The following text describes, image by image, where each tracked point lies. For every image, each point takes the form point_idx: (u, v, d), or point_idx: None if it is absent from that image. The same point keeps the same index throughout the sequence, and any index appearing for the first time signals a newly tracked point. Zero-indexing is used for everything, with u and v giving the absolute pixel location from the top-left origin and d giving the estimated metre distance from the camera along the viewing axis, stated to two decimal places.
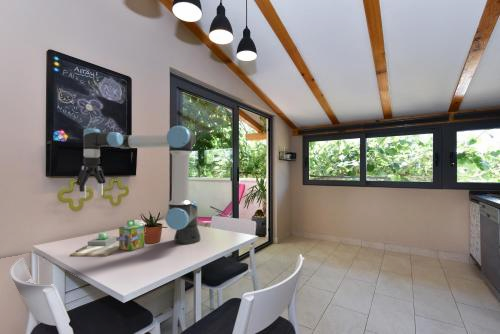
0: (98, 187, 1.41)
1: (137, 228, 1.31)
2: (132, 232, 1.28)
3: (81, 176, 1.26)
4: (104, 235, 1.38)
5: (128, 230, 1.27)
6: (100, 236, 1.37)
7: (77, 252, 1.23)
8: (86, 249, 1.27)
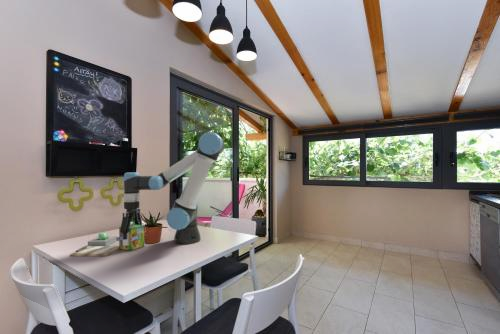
0: None
1: (137, 228, 1.31)
2: (132, 231, 1.28)
3: (124, 224, 1.25)
4: (104, 235, 1.38)
5: (128, 230, 1.27)
6: (100, 236, 1.37)
7: (77, 252, 1.23)
8: (86, 249, 1.27)
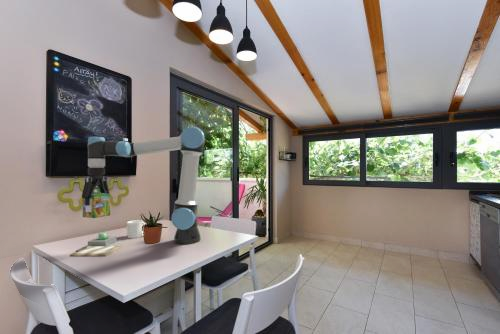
0: None
1: (101, 195, 1.25)
2: (95, 198, 1.22)
3: (86, 189, 1.19)
4: (104, 235, 1.38)
5: (91, 196, 1.21)
6: (100, 236, 1.37)
7: (77, 252, 1.23)
8: (86, 249, 1.27)
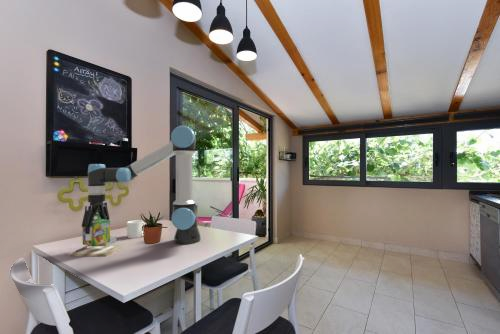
0: None
1: (101, 222, 1.25)
2: (95, 226, 1.22)
3: (86, 218, 1.19)
4: None
5: (91, 225, 1.21)
6: None
7: (77, 252, 1.23)
8: (86, 249, 1.27)
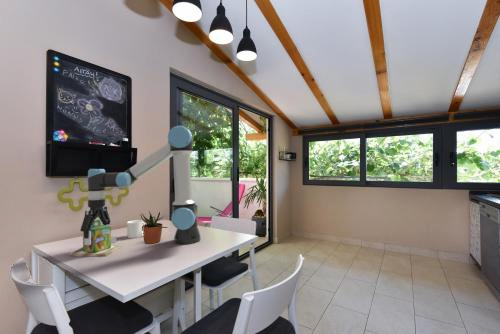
0: None
1: (102, 229, 1.25)
2: (96, 232, 1.22)
3: (86, 222, 1.18)
4: None
5: (92, 231, 1.22)
6: None
7: (77, 252, 1.23)
8: None
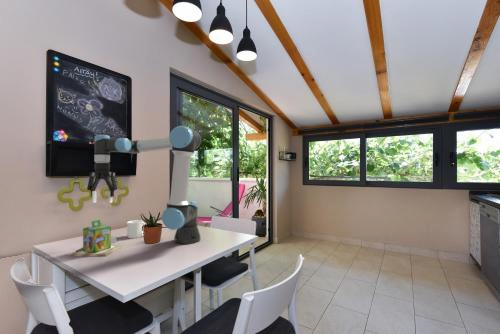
0: None
1: (102, 229, 1.25)
2: (96, 232, 1.22)
3: None
4: None
5: (92, 231, 1.22)
6: None
7: (77, 252, 1.23)
8: None
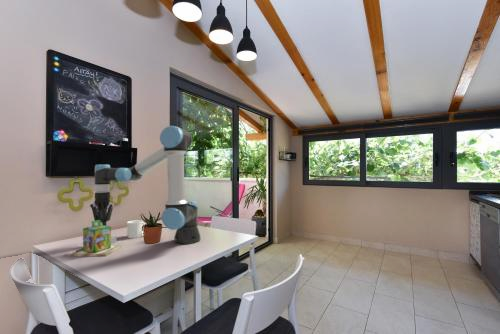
0: None
1: (102, 229, 1.25)
2: (96, 232, 1.22)
3: None
4: None
5: (92, 231, 1.22)
6: None
7: (77, 252, 1.23)
8: None
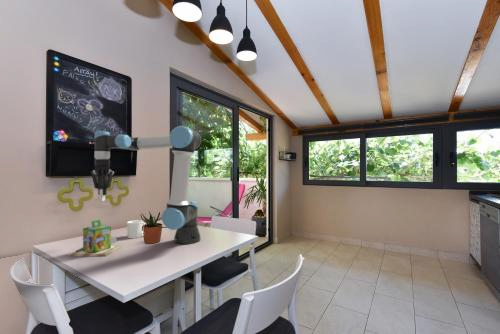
0: None
1: (102, 229, 1.25)
2: (96, 232, 1.22)
3: None
4: None
5: (92, 231, 1.22)
6: None
7: (77, 252, 1.23)
8: None
